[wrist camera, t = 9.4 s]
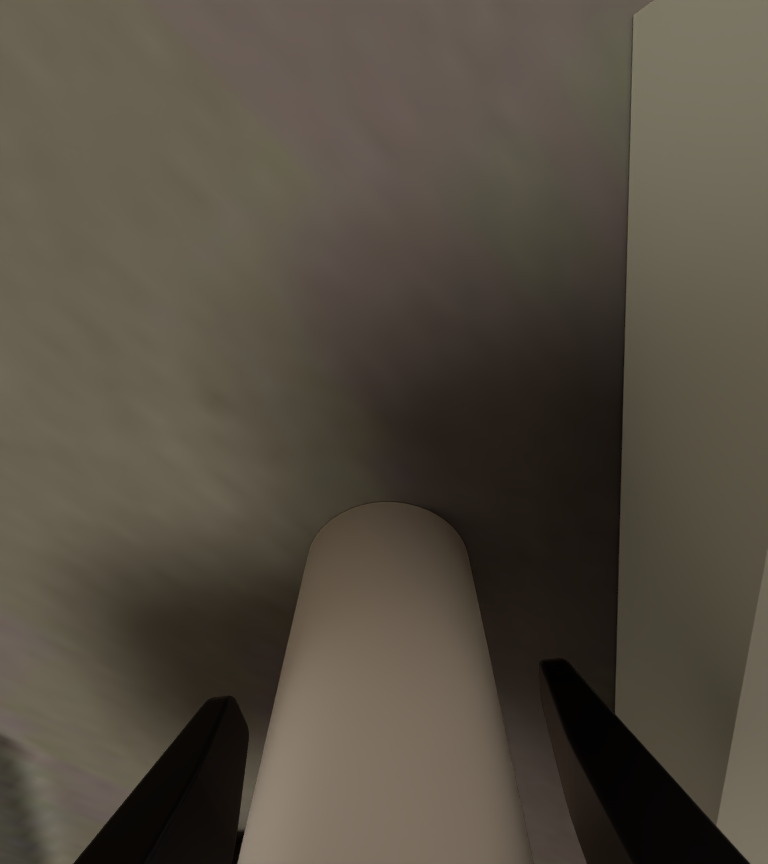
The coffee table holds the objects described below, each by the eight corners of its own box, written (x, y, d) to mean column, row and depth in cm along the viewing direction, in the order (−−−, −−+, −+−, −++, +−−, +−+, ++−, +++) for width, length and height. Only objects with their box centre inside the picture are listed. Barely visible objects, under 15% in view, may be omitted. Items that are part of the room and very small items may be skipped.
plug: (479, 620, 12) (678, 1581, 4) (325, 639, 12) (191, 1557, 4) (461, 487, 10) (742, 1649, 2) (285, 513, 10) (-72, 1608, 2)
